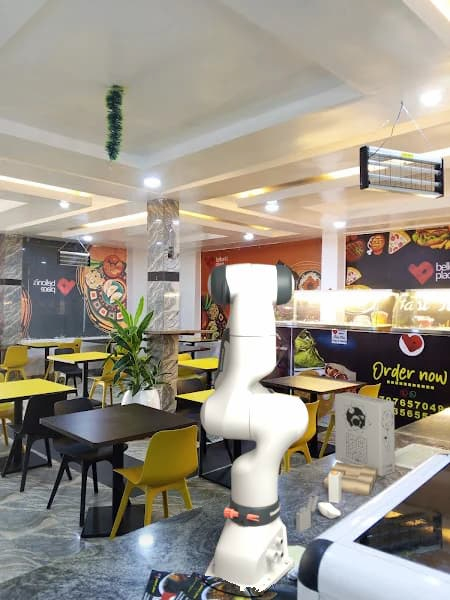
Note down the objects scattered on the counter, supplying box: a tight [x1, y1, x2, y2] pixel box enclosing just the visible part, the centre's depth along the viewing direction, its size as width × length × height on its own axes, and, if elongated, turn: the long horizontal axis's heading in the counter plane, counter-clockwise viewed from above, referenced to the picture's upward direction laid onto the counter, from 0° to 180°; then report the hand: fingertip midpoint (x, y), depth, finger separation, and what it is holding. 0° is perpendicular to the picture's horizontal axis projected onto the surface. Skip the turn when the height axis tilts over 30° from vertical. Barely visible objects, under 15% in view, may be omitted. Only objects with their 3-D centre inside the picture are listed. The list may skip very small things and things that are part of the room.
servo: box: [327, 470, 343, 504], centre depth 144 cm, size 4×3×9 cm
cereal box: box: [334, 391, 396, 477], centre depth 173 cm, size 22×8×25 cm, turn 32°
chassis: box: [323, 461, 379, 497], centre depth 157 cm, size 18×14×3 cm
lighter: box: [295, 493, 319, 532], centre depth 127 cm, size 7×2×8 cm, turn 126°
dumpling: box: [317, 501, 341, 520], centre depth 133 cm, size 7×5×4 cm
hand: (286, 433), depth 151 cm, fingers open, 8 cm apart
